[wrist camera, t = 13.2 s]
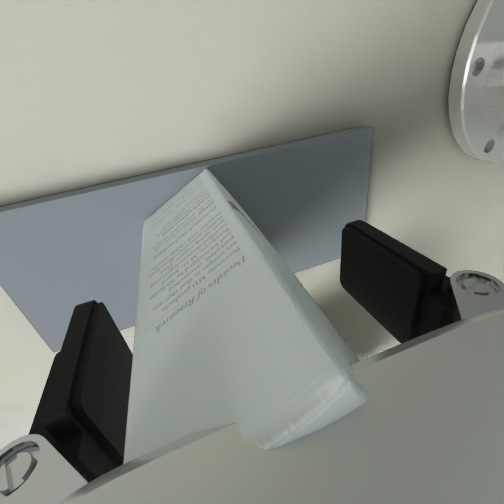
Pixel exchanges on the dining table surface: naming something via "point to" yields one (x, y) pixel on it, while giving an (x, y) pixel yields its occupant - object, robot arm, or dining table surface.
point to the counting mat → (155, 196)
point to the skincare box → (228, 333)
